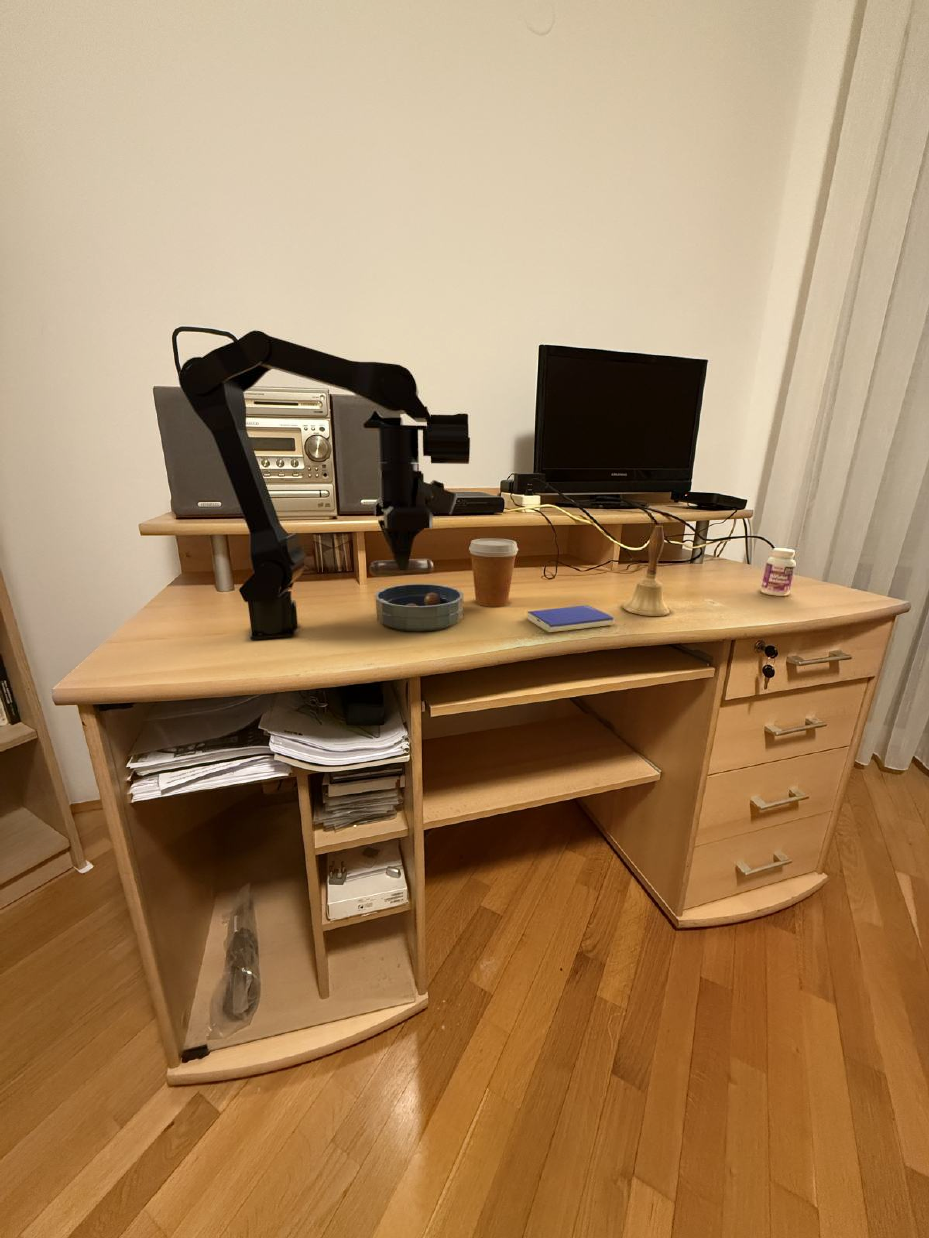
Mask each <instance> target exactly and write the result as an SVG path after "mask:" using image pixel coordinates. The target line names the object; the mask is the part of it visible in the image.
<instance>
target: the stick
mask: <svg viewBox="0 0 929 1238" xmlns="http://www.w3.org/2000/svg"><path fill="white" fill-rule="evenodd" d="M434 568H435V566H434V562H433V561H432V560H431V559H429V558H409V563H408V567H407V570H404V571H401V570H399V567H398V565H397V562H396V560H394V559H386V560H374V561H372V562H371V563H370V565H369V572H370V574H371V575H372V576H374V577H392V576H393V577H394V576H413V575H429V574H430V573H432V572H433V571H434Z"/></svg>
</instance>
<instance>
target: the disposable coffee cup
mask: <svg viewBox="0 0 929 1238" xmlns="http://www.w3.org/2000/svg"><path fill="white" fill-rule="evenodd" d="M468 550H469V553H470V554H471V567H472V575H473V576H472V577H473V587H474V597H475V603H476V604H477V605H479V606H483V607H491V608H492V607H493V608H494V607H503V606H506V605H508V604H509V603H508V602H509V597H510V591H511V590H510V589H511V585H512V579H513V573H514V569H515V568H514V567H515V561H516V557H517V554H518V551H519V550H520V549H519V548H518V545H517V541H515V540H512V539H507V538H496V537H495V538H493V537H492V538H491V537H490V538H488V537H487V538H486V537H485V538H476V539H473V540H471V541H470V546H469V547H468Z"/></svg>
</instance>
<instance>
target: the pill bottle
mask: <svg viewBox="0 0 929 1238" xmlns="http://www.w3.org/2000/svg"><path fill="white" fill-rule="evenodd" d="M795 554H796V550H794V549H791V548H784V547H783V548H781V547H774V548H773V550H772V553H771V555H772V557H769V558H768V559H767V560H766V565H765V569H764V572H763V577H762V581H761V586H760V591H761V592H762V593H763V594H766V595H770V596H777V597H783V596H784V597H785V596H788V595H789V594H790V590H791V587H792V582H793V580H794V579H793V578H794V575H795V570H796V565H797V563H796V561H795V560H794V559H793V558H794V557H795Z"/></svg>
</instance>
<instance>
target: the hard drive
mask: <svg viewBox="0 0 929 1238" xmlns="http://www.w3.org/2000/svg"><path fill="white" fill-rule="evenodd" d="M526 618H527V620H528V621H530V622H532V623H533V624H535V625H537V626H538V627H540V628H541V629H543V630H544V631H546V632H548V633H554V632H556V633H557V632H564V631H573V630H579V629H588V628H597V627H604V626H612V625H614V617H613V616H612V615H610V614H608V613H606V612H604V611H602V610H599V609H597V608H595V607H593V606H591V605H588V604H585V605H574V606H567V607H557V608H548V609H540V610H529V611H527V612H526Z"/></svg>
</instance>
